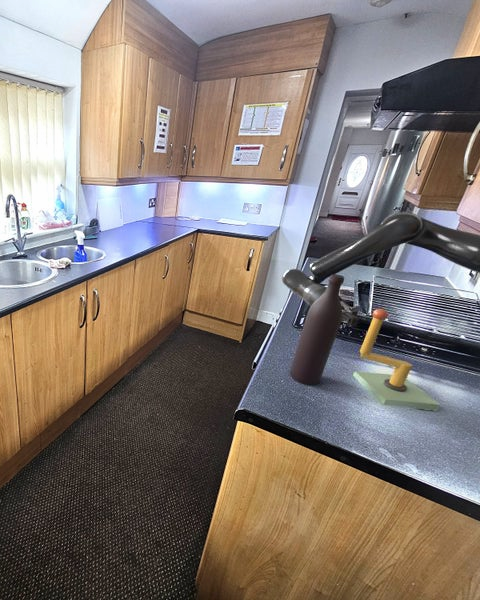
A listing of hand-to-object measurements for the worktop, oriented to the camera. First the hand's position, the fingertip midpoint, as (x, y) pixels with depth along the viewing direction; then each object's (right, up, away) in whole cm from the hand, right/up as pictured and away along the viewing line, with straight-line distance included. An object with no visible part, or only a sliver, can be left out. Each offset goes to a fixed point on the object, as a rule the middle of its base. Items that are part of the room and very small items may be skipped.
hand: (354, 321), depth 90 cm
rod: (+3, -15, -3) cm, 15 cm away
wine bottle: (-14, -16, +1) cm, 21 cm away
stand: (+6, -18, -5) cm, 20 cm away
